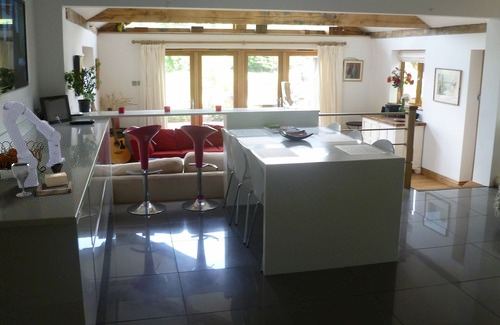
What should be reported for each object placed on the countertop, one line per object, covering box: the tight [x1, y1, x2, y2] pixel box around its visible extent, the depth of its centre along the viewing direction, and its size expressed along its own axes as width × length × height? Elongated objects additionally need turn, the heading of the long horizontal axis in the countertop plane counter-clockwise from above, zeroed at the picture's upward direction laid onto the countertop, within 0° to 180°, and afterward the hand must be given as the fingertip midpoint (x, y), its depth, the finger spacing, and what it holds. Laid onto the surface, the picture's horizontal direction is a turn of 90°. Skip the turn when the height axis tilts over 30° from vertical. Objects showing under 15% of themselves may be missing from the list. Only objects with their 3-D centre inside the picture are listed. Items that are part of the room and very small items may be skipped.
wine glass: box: [10, 162, 33, 198], centre depth 238 cm, size 8×8×15 cm
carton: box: [44, 171, 69, 188], centre depth 257 cm, size 10×7×5 cm
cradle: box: [35, 180, 73, 196], centre depth 246 cm, size 16×14×2 cm
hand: (57, 177), depth 266 cm, fingers closed
